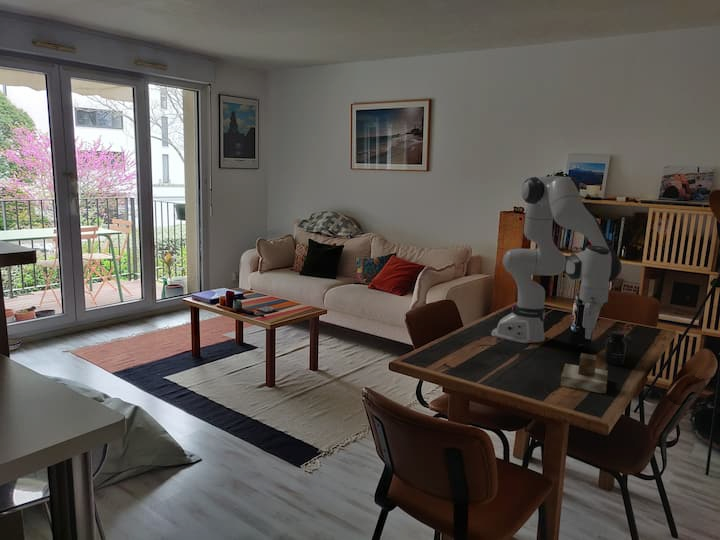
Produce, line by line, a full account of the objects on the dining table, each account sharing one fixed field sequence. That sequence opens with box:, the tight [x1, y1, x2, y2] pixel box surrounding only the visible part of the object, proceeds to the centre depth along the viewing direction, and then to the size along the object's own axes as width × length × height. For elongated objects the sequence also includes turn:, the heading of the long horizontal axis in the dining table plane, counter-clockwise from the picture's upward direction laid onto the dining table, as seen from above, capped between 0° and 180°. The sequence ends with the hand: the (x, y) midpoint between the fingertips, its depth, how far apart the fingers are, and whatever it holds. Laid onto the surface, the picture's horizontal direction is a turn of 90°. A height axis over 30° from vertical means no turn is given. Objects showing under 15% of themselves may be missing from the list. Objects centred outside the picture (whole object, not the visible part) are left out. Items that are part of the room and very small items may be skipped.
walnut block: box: [578, 352, 597, 377], centre depth 187 cm, size 5×5×6 cm
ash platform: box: [560, 363, 609, 395], centre depth 188 cm, size 14×14×4 cm
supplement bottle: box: [603, 330, 627, 366], centre depth 208 cm, size 7×7×12 cm
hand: (589, 334), depth 185 cm, fingers open, 8 cm apart
